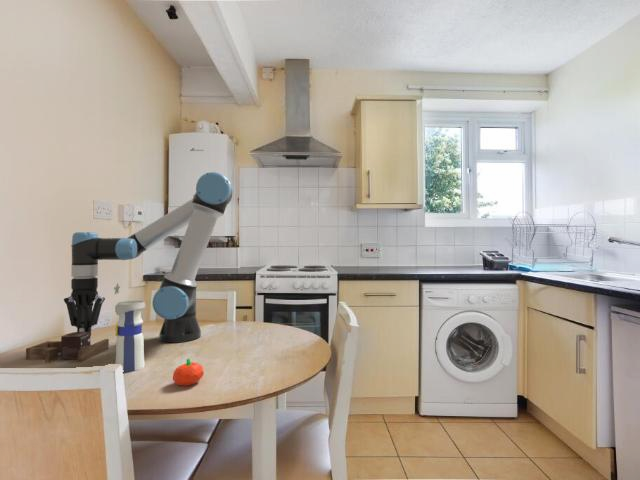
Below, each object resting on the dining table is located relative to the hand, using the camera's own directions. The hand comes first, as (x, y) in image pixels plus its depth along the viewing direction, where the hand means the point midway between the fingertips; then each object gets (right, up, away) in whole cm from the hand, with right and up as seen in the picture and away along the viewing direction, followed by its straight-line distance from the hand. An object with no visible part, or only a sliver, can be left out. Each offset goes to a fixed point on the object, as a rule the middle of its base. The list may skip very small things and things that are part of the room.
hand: (84, 346), depth 121 cm
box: (0, -2, -5) cm, 5 cm away
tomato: (+46, -1, -29) cm, 54 cm away
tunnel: (-4, -2, -3) cm, 5 cm away
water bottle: (+24, -2, -16) cm, 29 cm away
